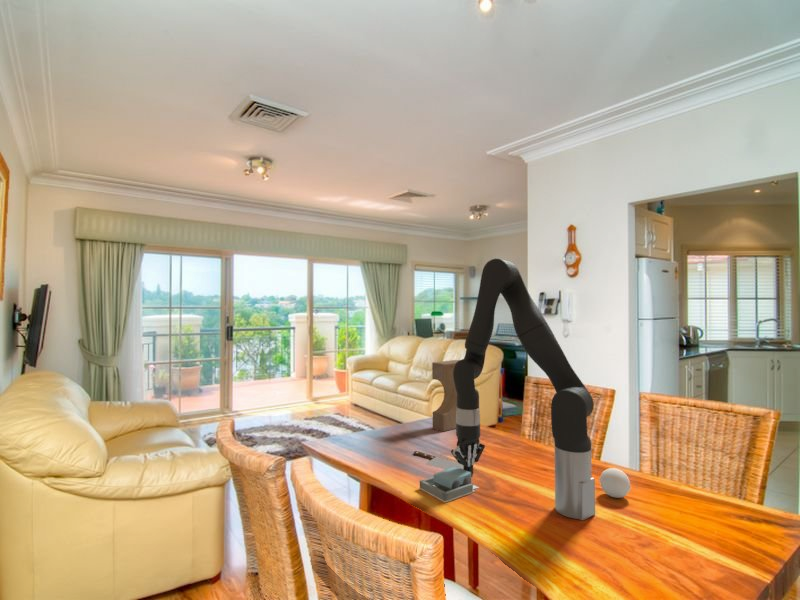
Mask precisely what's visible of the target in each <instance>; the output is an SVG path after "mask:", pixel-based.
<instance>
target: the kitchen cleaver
mask: <svg viewBox="0 0 800 600" xmlns="http://www.w3.org/2000/svg"><path fill="white" fill-rule="evenodd" d="M413 456H417V457H420V458H424V459H428V460H429V461H428V462H427V463H425V465H426V466H427V465H428V466H430V467H434V468H437V469H438V468H439V469H443V470H446V469H449V468H452V467H458V468H461V469H464V466H463V465H462V464H459V463H458V462H457V461H453V460H449V459H446V458H445V459H444V458H441V457H439V456H434V455H431V454H428V453H424V452H421V451H419V450H415V451H413Z"/></svg>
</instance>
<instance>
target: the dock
mask: <svg viewBox="0 0 800 600" xmlns="http://www.w3.org/2000/svg"><path fill="white" fill-rule="evenodd" d="M419 489H420V490H421V491H423V492H425V493H427V494H428V495H430V496H432V497H434V498H436V499H438V500H439V501H441V502H443V503H448V502H451V501H453V500H456V499H459V498H462V497H465V496H468V495H470V494H473V493H475V492H476V490H477V489H480V487H479V486H477V485H475V484H472V483H471V484H467V485H464V486H461V487H458V488H455V489H453V490H450V491H447V492H446V491H444V490H442V489H439V488H437V487H435V486H434V476H432V477H431V476H430V477H427V478H425V479H421V480H419Z"/></svg>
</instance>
